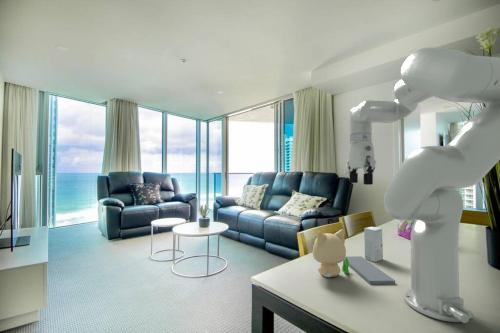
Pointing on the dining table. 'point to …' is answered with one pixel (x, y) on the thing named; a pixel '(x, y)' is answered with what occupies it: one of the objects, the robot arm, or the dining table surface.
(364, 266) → the mat
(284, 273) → the dining table surface
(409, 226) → the candy bar box
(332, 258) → the kitten
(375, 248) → the skincare box
